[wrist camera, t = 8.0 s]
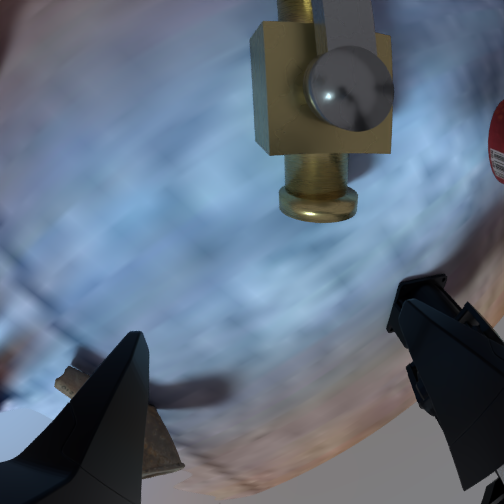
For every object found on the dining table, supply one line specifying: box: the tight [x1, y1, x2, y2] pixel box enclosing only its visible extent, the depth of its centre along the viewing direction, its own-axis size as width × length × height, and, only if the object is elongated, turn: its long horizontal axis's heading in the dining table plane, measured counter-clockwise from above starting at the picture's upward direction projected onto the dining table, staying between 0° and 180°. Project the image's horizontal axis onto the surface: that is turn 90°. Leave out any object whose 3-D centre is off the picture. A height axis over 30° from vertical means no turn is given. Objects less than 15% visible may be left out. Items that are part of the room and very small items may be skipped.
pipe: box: [54, 366, 185, 479], centre depth 25 cm, size 6×17×10 cm, turn 42°
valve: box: [250, 0, 393, 223], centre depth 15 cm, size 7×15×6 cm, turn 3°
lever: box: [303, 0, 394, 132], centre depth 9 cm, size 13×4×2 cm, turn 5°
